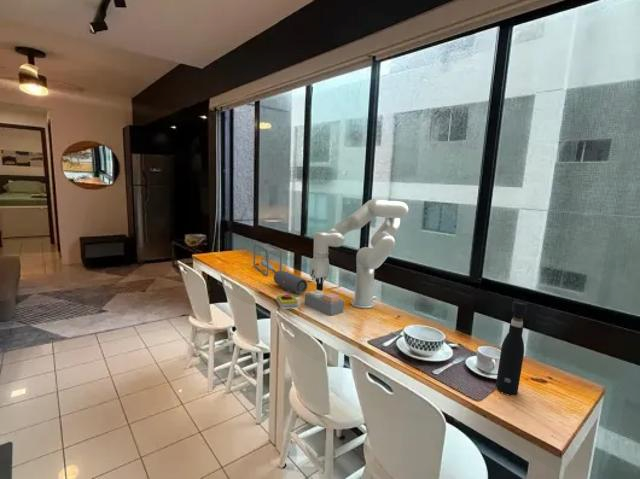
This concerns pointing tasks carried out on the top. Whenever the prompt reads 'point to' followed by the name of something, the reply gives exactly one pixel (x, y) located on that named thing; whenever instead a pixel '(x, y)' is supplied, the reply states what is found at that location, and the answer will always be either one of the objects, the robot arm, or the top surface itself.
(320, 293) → the key white
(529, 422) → the top surface
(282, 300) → the emergency button
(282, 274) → the bluetooth speaker
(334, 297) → the key terracotta
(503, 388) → the black water bottle
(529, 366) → the top surface
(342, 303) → the key box
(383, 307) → the top surface
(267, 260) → the newton's cradle
